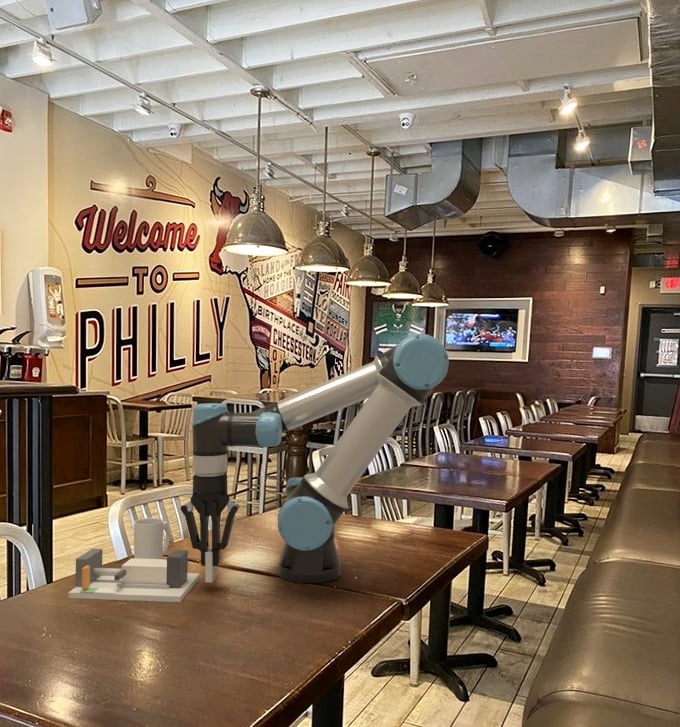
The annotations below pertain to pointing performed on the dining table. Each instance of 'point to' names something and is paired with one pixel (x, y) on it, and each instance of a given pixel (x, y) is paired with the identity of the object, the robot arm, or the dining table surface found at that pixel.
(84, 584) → the needle
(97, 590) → the base
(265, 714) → the dining table surface
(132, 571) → the beige and grey block
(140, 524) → the mug
